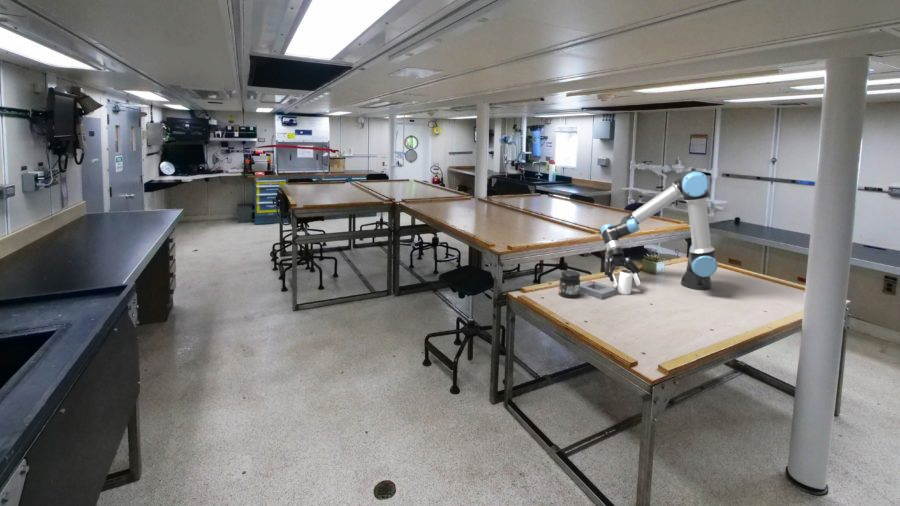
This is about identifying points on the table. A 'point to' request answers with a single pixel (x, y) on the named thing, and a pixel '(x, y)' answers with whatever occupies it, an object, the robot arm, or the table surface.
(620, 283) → the can
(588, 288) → the socket plate
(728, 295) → the table surface
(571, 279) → the supplement container
